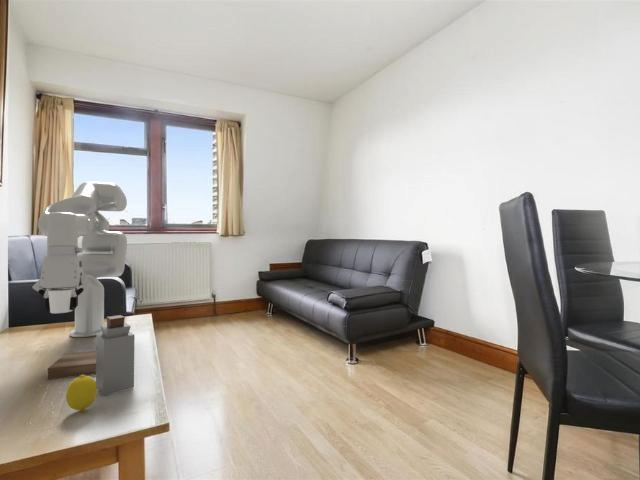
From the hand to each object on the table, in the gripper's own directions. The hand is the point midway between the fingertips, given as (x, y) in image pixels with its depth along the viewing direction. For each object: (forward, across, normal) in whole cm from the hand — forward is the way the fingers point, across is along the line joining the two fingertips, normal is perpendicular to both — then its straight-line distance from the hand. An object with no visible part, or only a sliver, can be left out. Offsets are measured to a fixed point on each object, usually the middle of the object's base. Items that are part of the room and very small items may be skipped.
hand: (61, 309), depth 104 cm
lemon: (+16, -17, +38) cm, 45 cm away
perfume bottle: (+16, -21, +27) cm, 38 cm away
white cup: (+1, 0, 0) cm, 1 cm away
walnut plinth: (+16, -8, +10) cm, 21 cm away
